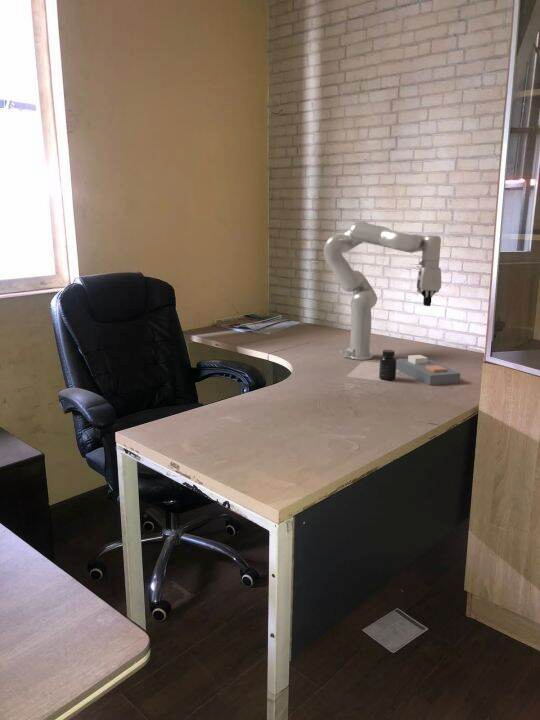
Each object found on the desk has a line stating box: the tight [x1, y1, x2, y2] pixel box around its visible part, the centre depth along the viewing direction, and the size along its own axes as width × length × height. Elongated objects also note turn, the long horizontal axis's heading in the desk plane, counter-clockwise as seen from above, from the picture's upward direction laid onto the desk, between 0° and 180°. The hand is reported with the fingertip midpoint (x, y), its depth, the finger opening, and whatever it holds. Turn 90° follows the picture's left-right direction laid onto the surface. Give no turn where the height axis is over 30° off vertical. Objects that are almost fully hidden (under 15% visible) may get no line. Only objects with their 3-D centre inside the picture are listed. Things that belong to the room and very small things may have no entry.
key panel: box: [396, 358, 461, 386], centre depth 247 cm, size 14×28×4 cm, turn 18°
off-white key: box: [407, 354, 429, 364], centre depth 253 cm, size 6×6×5 cm
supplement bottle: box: [378, 349, 397, 382], centre depth 240 cm, size 7×7×12 cm
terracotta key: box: [425, 365, 446, 373], centre depth 240 cm, size 6×6×5 cm
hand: (426, 305), depth 259 cm, fingers closed
